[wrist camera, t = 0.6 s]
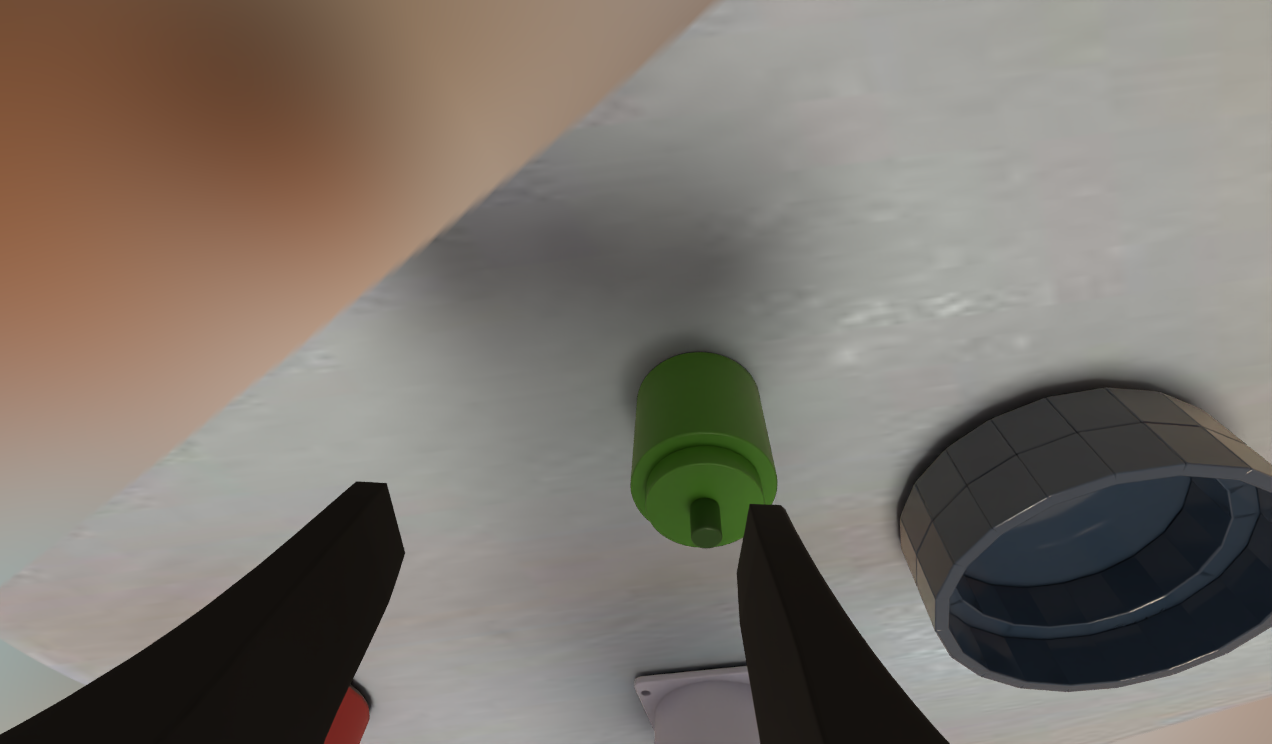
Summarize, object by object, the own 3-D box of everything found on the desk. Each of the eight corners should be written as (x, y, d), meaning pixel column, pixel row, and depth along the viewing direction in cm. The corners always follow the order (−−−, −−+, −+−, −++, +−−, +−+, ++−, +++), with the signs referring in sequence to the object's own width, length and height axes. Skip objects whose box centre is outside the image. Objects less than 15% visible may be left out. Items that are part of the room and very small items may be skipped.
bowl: (1182, 577, 27) (1266, 675, 23) (899, 609, 29) (934, 703, 25) (1259, 351, 20) (1392, 434, 17) (891, 412, 23) (936, 499, 19)
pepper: (767, 439, 24) (796, 580, 18) (653, 458, 24) (648, 598, 19) (749, 340, 21) (777, 466, 16) (623, 364, 22) (607, 493, 16)
